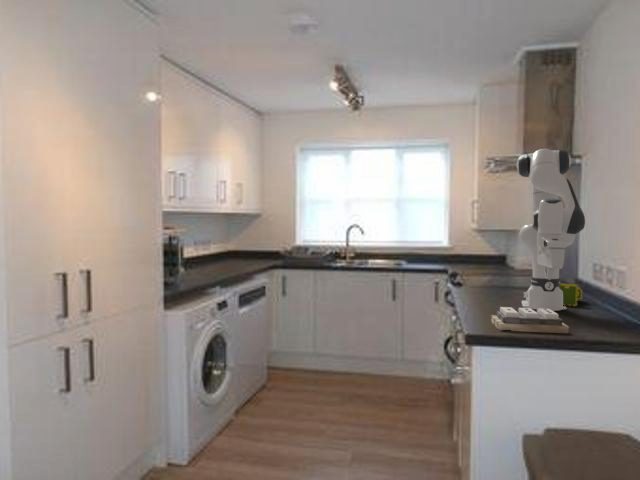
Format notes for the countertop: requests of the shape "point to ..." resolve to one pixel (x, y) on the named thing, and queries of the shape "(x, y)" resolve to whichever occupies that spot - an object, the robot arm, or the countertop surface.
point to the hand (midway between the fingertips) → (548, 278)
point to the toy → (571, 294)
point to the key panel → (529, 324)
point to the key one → (509, 312)
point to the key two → (528, 313)
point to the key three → (547, 313)
